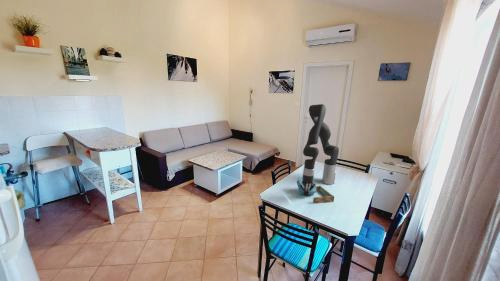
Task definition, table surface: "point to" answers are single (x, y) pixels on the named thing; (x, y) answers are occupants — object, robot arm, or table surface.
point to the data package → (303, 187)
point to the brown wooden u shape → (328, 197)
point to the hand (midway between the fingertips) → (305, 195)
